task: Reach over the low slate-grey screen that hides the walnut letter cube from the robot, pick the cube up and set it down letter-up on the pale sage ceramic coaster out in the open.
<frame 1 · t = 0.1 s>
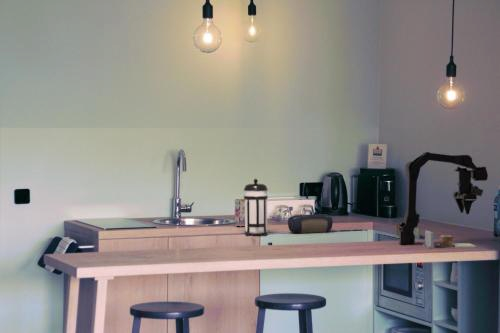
hand: (464, 213, 389), 15 cm above the worktop, fingers open, 9 cm apart
candy bar box: (244, 227, 478), on the worktop
letter cube: (446, 246, 379), on the worktop
coffee press: (256, 235, 432), on the worktop
portable speaker: (311, 233, 443), on the worktop
coaster: (463, 246, 379), on the worktop
beverage carton: (408, 237, 421), on the worktop
screen: (429, 246, 379), on the worktop
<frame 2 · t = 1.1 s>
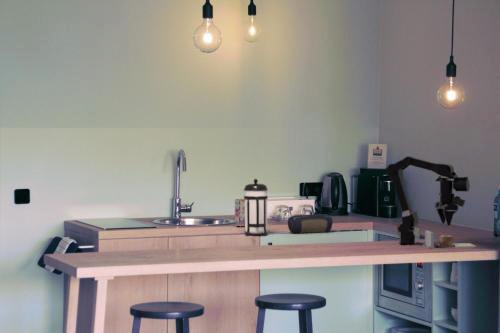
hand: (446, 224, 379), 10 cm above the worktop, fingers open, 9 cm apart
nothing on the worktop moved.
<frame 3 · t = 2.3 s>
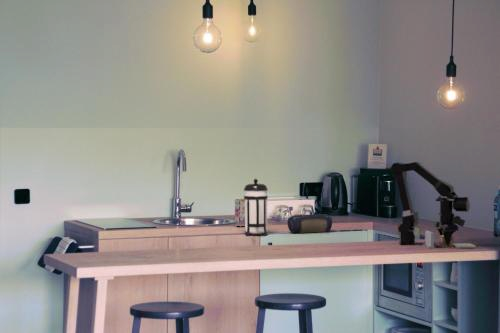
hand: (446, 244, 379), 1 cm above the worktop, fingers closed on letter cube, 5 cm apart
letter cube: (446, 246, 379), on the worktop, touching gripper
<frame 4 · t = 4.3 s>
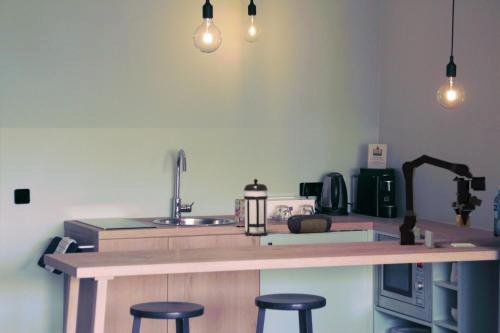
hand: (463, 224, 379), 10 cm above the worktop, fingers closed on letter cube, 5 cm apart
letter cube: (463, 226, 379), point 9 cm above the worktop, touching gripper
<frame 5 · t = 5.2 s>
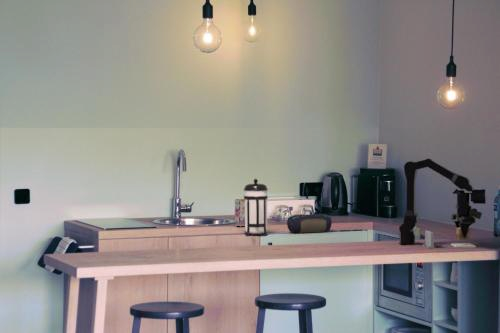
hand: (463, 236, 379), 5 cm above the worktop, fingers closed on letter cube, 5 cm apart
letter cube: (463, 238, 379), point 3 cm above the worktop, touching gripper
when the fingers open (3 cm above the worktop, at t = 5.9 s): letter cube drops 1 cm, resting on coaster.
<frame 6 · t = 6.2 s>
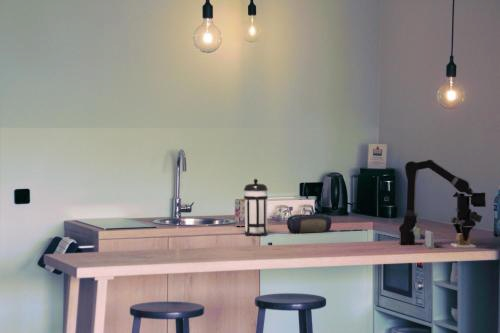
hand: (463, 239, 379), 3 cm above the worktop, fingers open, 8 cm apart
letter cube: (463, 244, 379), point 1 cm above the worktop, touching coaster
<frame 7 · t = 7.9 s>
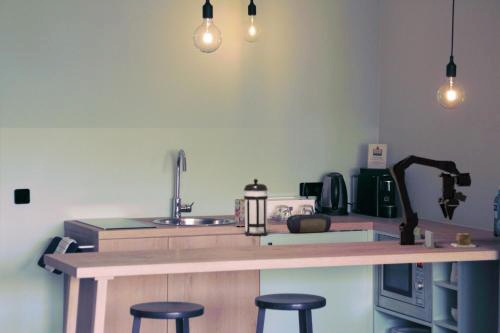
hand: (448, 219, 390), 12 cm above the worktop, fingers open, 9 cm apart
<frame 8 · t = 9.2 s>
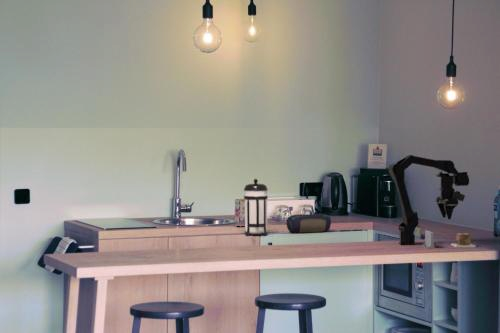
hand: (446, 218, 391), 12 cm above the worktop, fingers open, 9 cm apart
at the end: letter cube inside the target area on the coaster (0.0 cm from its centre), point 0.8 cm above the coaster's base; letter cube tilted 0°; the gripper is holding nothing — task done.
